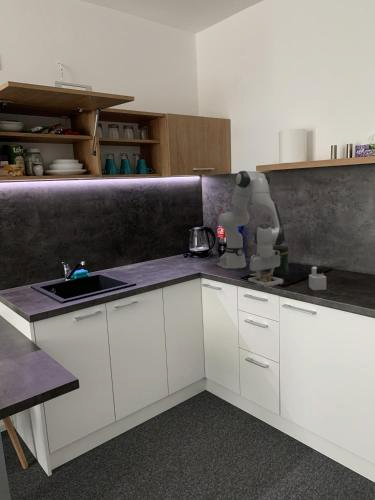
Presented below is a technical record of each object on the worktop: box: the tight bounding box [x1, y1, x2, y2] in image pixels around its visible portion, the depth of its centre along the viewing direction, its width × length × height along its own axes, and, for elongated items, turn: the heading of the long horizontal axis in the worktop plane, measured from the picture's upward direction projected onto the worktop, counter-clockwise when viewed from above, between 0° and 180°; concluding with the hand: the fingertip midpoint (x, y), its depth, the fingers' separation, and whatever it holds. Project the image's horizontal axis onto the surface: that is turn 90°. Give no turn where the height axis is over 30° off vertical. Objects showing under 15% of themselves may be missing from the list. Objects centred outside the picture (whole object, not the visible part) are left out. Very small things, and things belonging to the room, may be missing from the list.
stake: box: [249, 270, 263, 277], centre depth 241 cm, size 10×10×6 cm
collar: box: [258, 271, 272, 283], centre depth 225 cm, size 7×8×5 cm
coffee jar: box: [272, 245, 290, 276], centre depth 241 cm, size 10×8×19 cm
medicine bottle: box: [308, 265, 327, 291], centre depth 209 cm, size 7×7×12 cm
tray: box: [247, 275, 284, 288], centre depth 225 cm, size 15×14×2 cm
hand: (265, 276), depth 225 cm, fingers open, 7 cm apart
